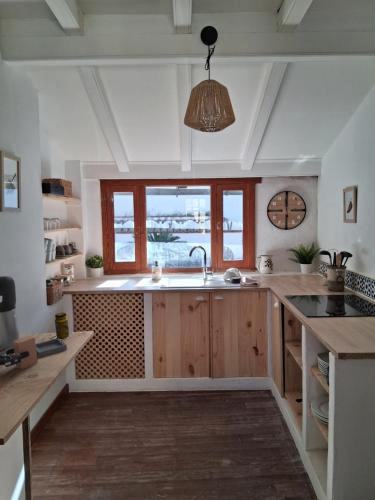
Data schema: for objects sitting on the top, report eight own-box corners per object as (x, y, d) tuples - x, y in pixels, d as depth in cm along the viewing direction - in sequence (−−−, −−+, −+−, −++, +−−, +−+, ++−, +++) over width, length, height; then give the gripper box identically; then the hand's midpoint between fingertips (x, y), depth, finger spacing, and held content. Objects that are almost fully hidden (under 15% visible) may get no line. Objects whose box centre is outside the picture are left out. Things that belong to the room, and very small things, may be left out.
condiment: (72, 336, 184) (70, 313, 182) (56, 341, 178) (53, 317, 176) (65, 333, 189) (63, 310, 187) (49, 338, 183) (47, 315, 182)
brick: (16, 366, 152) (12, 341, 151) (32, 360, 158) (29, 335, 156) (21, 369, 149) (18, 343, 148) (37, 362, 155) (34, 337, 153)
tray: (32, 349, 170) (32, 344, 170) (58, 342, 177) (58, 337, 177) (39, 357, 160) (38, 352, 160) (66, 349, 167) (66, 345, 167)
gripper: (-11, 360, 135) (31, 345, 147) (-27, 352, 144) (14, 338, 156) (-9, 380, 136) (33, 363, 148) (-25, 370, 145) (16, 355, 157)
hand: (23, 350), depth 152 cm, fingers open, 8 cm apart
